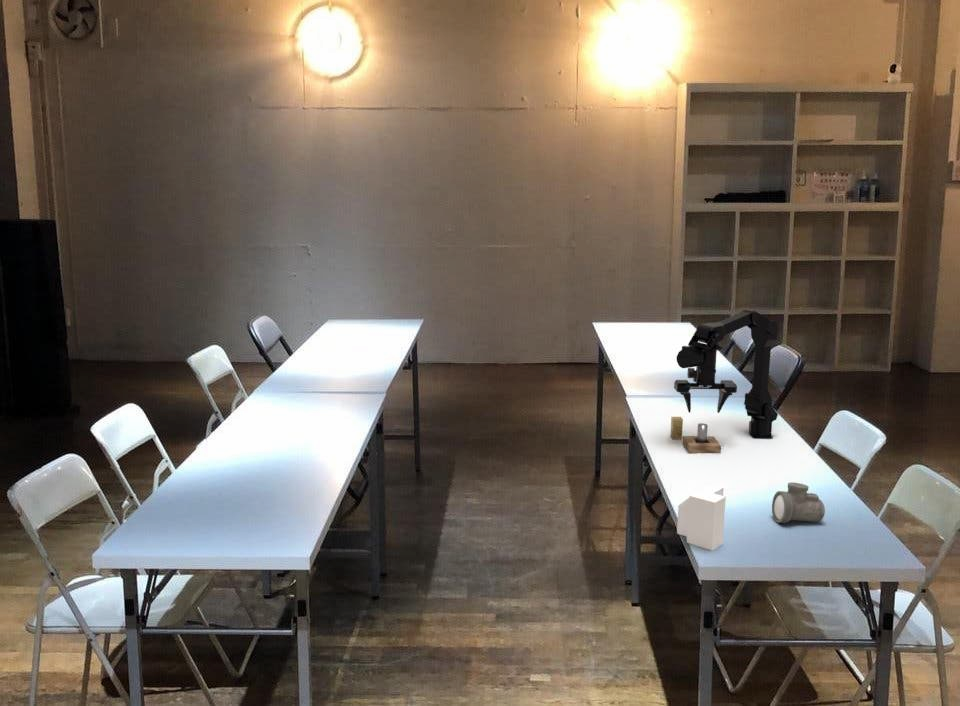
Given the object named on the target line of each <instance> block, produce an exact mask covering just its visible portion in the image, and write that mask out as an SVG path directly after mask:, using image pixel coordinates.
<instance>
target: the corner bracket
mask: <svg viewBox="0 0 960 706" xmlns="http://www.w3.org/2000/svg"><path fill="white" fill-rule="evenodd" d="M726 500H727V497H726V496H724V487H722V486H719V485H714V484H709V485H707V486H705V487H703V488H702V489H700V490H698V491H696V492H694V493H692V494H690V495H689V497H688V498H687V499H685V500H684V501H683V502H681V503H679V505H677V506H678V508H677V510H678V511H677V524H676V526H677V527H676V534H677V535H681V536H683V537H687V538H686V543H687V544H690V545H693V546H696V547H701V548H703V549H705V550H710V551H714V550H715V549H717V548H718V547H720V546H721V545H723V544H724V529H725V528H724V527H725V513H726Z"/></svg>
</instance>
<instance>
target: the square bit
mask: <svg viewBox="0 0 960 706" xmlns="http://www.w3.org/2000/svg"><path fill="white" fill-rule="evenodd" d="M670 417H671V418H670V419H671V420H670V432H669V433H670V436H669V437H670V439H671V440H673V441H675V440H676V441H683V423H684V419H683V416H670Z"/></svg>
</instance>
